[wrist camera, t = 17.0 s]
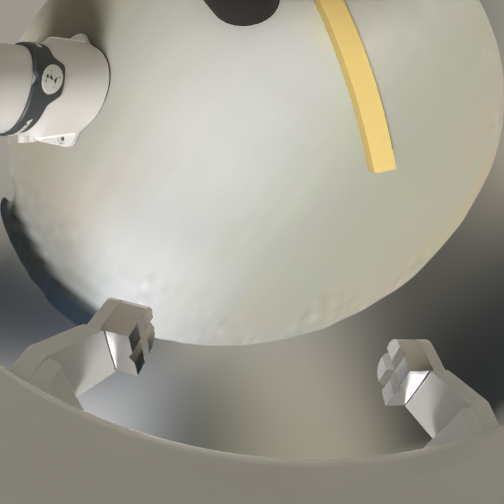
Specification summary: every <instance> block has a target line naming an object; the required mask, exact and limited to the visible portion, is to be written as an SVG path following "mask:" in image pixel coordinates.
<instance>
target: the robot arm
mask: <svg viewBox="0 0 504 504" xmlns="http://www.w3.org/2000/svg"><path fill="white" fill-rule="evenodd" d="M108 85H109V67H108V63H107V60H106V58H105V56H104V55H103V53H102V52H101V51H100V50H99V49H97V48H96V47H94V46H92V45H91V44H90V42H89V39H88V37H87V36H86V35H85V34H81V33H80V34H77V35H75V36H73V37H71V38H69V39H67V38H59V37H48V38H47V39H46V40H44V41H42V42H41V43H36V42H19V43H16V44H3V43H0V136H12V135H17V134H18V143H27V142H36V141H41V142H45V143H50V144H54V145H59V146H63V147H71V146H73V145H74V144H75V142H76V140H77V138H78V136H79V134H80V132H81V131H82V130H83V128H85V127H86V126H87V125H88V124H89V123H90V122H91V121H92V120H93V119H94V117H95V116H96V115H97V113H98V112H99V110H100V108H101V106H102V104H103V102H104V100H105V97H106V94H107V90H108ZM63 137H64V140H63ZM152 318H153V315H152V309H151V308H150V307H147V306H143V305H139V304H135V303H131V302H128V301H123V300H119V299H115V298H109V299H107V301H106V302H105V303H104V304H103V305H102V307H101V308H100V309H99V310H98V312H97V313H96V314H95V315H94V316H93V318H92V319H91V320H90V321H89V323H88V324H87V325H85V324H82V325H79V326H77V327H75V328H72V329H70V330H67V331H65V332H62V333H60V334H58V335H55V336H53V337H50V338H48V339H45V340H43V341H41V342H38V343H36V344H33V345H31V346H28V348H27V349H26V350H25V351H24V352H23V354H22V355H21V356H20V357H19V359H18V360H17V361H16V362H15V364H14V365H13V366H12V367H11V369H10V370H8V369H6V368H4V367H3V366H2V365H0V504H504V425H502V426H499V425H498V423H497V420H496V418H495V416H494V414H493V412H492V409H491V407H490V405H489V403H488V401H486V400H485V399H484V398H483V397H481V396H480V395H479V394H478V393H476V392H475V391H474V390H472V389H471V388H470V387H469V386H467V385H466V384H465V383H463V382H462V381H461V380H460V379H459V378H457V377H456V376H455V375H454V374H452V373H451V372H449V371H448V370H445V369H444V367H443V366H442V363H441V362H440V359H439V357H438V355H437V353H436V352H435V350H434V348H433V346H432V344H431V342H430V341H428V340H399V339H393V340H392V341H391V342H390V343H389V345H388V347H387V349H388V353H387V354H385V355H384V356H382V358H381V360H380V362H379V364H378V369H377V376H378V380H379V382H380V383H381V384H382V385H383V386H384V387H383V389H382V394H383V398H384V402H385V405H386V406H390V405H405V406H406V407H407V409H408V410H409V411H410V412H411V413H412V415H413V416H414V417H415V418H416V419H417V420H418V421H419V423H420V424H421V425H422V426H423V427H424V429H425V430H426V431H427V432H428V433H429V435H430V436H431V437H432V438H433V439H432V440H431V441H430V442H429V443H428V444H427V445H425V447H424V448H423V449H418V450H413V451H408V452H402V453H396V454H388V455H380V456H370V457H359V458H343V459H289V458H272V457H260V456H251V455H243V454H235V453H228V452H222V451H216V450H211V449H205V448H200V447H195V446H191V445H186V444H182V443H177V442H174V441H170V440H166V439H162V438H158V437H155V436H152V435H148V434H145V433H142V432H139V431H136V430H132V429H129V428H127V427H124V426H121V425H118V424H115V423H112V422H110V421H107V420H105V419H102V418H100V417H97V416H95V415H92V414H90V413H88V412H85V411H84V409H83V406H82V405H81V403H80V401H79V400H78V398H77V397H78V396H79V395H80V394H82V393H84V392H85V391H87V390H88V389H90V388H91V387H93V386H94V385H96V384H97V383H99V382H100V381H102V380H103V379H105V378H106V377H108V376H109V375H111V374H112V373H114V372H115V370H117V371H121V372H124V373H128V374H131V375H135V376H138V375H139V373H140V371H141V369H142V367H143V365H144V363H145V360H144V356H145V355H147V354H149V353H150V351H151V349H152V347H153V342H154V335H155V332H154V327H153V325H152V324H151V323H150V321H151V319H152Z"/></svg>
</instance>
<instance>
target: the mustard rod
mask: <svg viewBox="0 0 504 504" xmlns="http://www.w3.org/2000/svg"><path fill="white" fill-rule="evenodd" d="M315 5H316V7H317V9H318V11H319V13H320V16H321V18H322V20H323V23H324V25H325V27H326V30H327V32H328V35H329V37H330V40H331V42H332V45H333V48H334V50H335V53H336V56H337V58H338V61H339V64H340V67H341V70H342V73H343V76H344V79H345V82H346V85H347V88H348V91H349V95H350V98H351V101H352V105H353V108H354V112H355V115H356V119H357V123H358V127H359V131H360V135H361V139H362V143H363V147H364V152H365V156H366V161H367V165H368V170H369V171H371V172H373V173H379V172H384V171H389V170H394V169H396V166H395V160H394V155H393V150H392V145H391V140H390V136H389V131H388V127H387V123H386V119H385V115H384V111H383V107H382V103H381V100H380V96H379V93H378V89H377V86H376V82H375V79H374V76H373V73H372V70H371V67H370V64H369V61H368V58H367V55H366V53H365V50H364V47H363V45H362V42H361V39H360V37H359V34H358V32H357V29H356V27H355V25H354V22H353V20H352V18H351V15H350V13H349V11H348V9H347V7H346V4H345V2H344V0H315Z"/></svg>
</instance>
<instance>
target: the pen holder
mask: <svg viewBox="0 0 504 504" xmlns="http://www.w3.org/2000/svg"><path fill="white" fill-rule="evenodd" d="M204 1H205V3H206V4H207V5H208V6H209V8H210V9H211V10H212V11H213V12H214V14H215V15H216V16H217V17H218V18H219V19H221V20H222V21H224V22H226V23H229V24H232V25H237V26H249V25H254V24H258V23H261V22H263V21H265V20H266V19H268V18H269V17H271V16H272V15H273V14H274V13H275V11H276V10H277V7H278V5H279V0H204Z"/></svg>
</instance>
